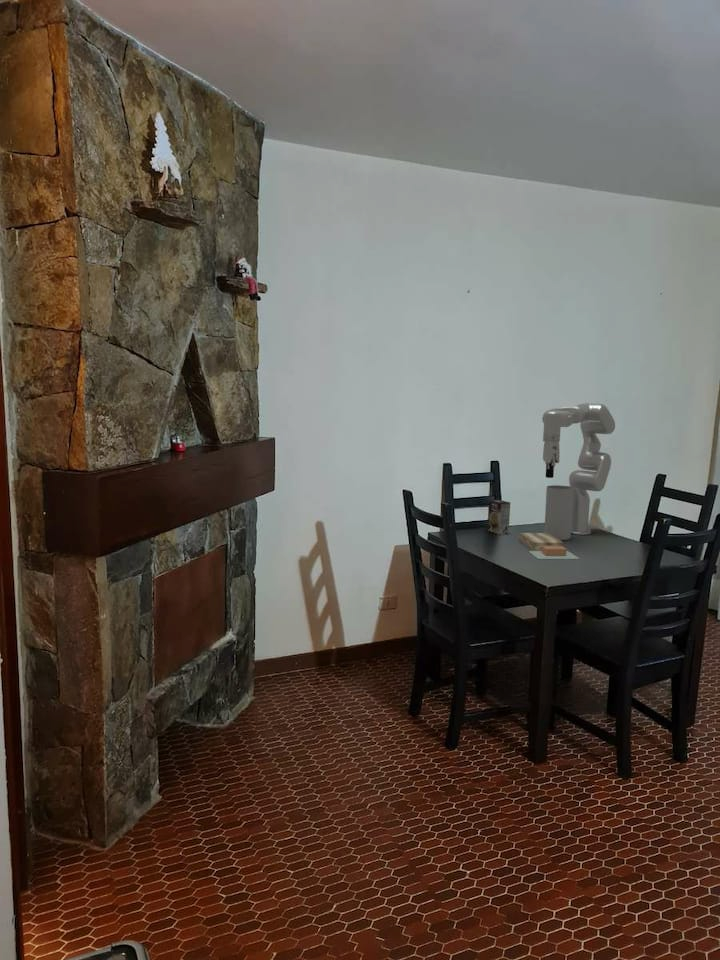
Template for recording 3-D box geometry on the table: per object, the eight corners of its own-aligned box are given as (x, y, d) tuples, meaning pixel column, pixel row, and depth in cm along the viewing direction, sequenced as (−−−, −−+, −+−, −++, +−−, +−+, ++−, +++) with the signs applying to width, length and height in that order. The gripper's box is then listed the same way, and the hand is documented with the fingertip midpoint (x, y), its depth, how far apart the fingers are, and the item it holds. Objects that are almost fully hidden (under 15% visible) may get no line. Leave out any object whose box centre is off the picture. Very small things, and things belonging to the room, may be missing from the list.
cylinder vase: (576, 539, 337) (579, 488, 334) (554, 541, 333) (557, 489, 329) (559, 534, 349) (562, 484, 346) (538, 536, 344) (541, 485, 341)
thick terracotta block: (566, 549, 304) (566, 555, 304) (561, 545, 310) (561, 552, 310) (546, 549, 303) (546, 555, 303) (541, 545, 309) (541, 552, 309)
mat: (567, 551, 313) (567, 550, 313) (579, 559, 300) (579, 558, 300) (528, 551, 312) (528, 550, 312) (538, 559, 298) (538, 558, 298)
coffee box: (487, 531, 353) (488, 500, 351) (497, 530, 356) (498, 499, 354) (499, 535, 345) (500, 502, 343) (509, 533, 348) (510, 502, 346)
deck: (548, 541, 334) (548, 532, 333) (562, 551, 314) (563, 542, 313) (519, 541, 333) (519, 532, 332) (532, 551, 313) (532, 542, 312)
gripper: (565, 439, 316) (562, 479, 319) (553, 437, 331) (551, 475, 334) (549, 439, 316) (546, 479, 318) (538, 437, 331) (536, 475, 333)
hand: (549, 477), depth 326 cm, fingers closed
